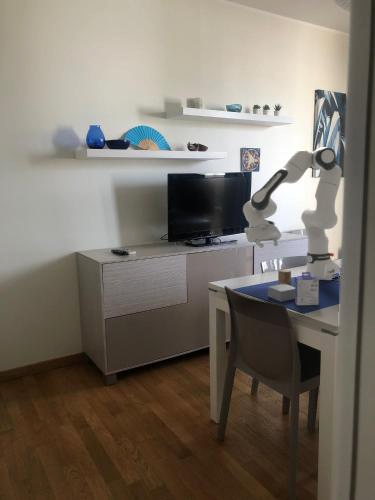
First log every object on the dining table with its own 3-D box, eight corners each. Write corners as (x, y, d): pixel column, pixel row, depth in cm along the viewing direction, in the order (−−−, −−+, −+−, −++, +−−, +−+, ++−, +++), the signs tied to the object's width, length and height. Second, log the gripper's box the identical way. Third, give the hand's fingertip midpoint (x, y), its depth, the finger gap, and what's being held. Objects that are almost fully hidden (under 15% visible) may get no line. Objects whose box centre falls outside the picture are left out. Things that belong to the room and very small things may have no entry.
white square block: (284, 293, 206) (284, 283, 205) (297, 298, 197) (297, 288, 196) (268, 296, 202) (268, 286, 201) (280, 301, 193) (280, 291, 192)
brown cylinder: (285, 288, 215) (285, 269, 213) (290, 290, 211) (291, 271, 209) (278, 289, 213) (278, 270, 211) (283, 291, 209) (283, 272, 207)
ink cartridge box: (315, 301, 191) (316, 271, 189) (319, 305, 186) (319, 274, 183) (294, 302, 191) (294, 272, 189) (297, 305, 186) (297, 274, 183)
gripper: (245, 223, 219) (255, 244, 212) (276, 221, 228) (287, 241, 221) (240, 231, 224) (250, 251, 217) (271, 228, 233) (281, 248, 226)
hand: (269, 246), depth 219 cm, fingers open, 8 cm apart
